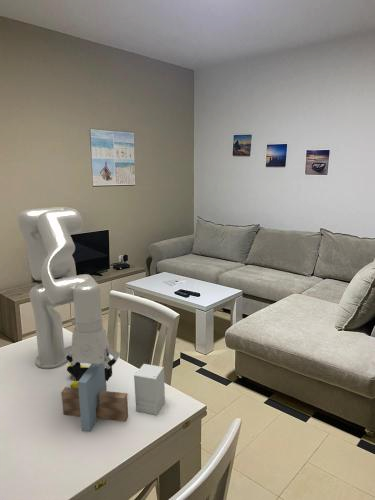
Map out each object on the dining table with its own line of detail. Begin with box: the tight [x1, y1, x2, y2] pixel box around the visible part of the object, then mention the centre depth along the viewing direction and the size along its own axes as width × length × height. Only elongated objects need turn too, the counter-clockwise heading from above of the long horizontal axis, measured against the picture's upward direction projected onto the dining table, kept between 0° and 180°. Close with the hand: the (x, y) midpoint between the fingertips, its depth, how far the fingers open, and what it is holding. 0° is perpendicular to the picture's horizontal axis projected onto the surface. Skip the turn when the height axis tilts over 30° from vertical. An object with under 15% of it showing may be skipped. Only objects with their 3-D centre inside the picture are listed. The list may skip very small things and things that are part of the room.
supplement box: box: [133, 363, 166, 416], centre depth 120 cm, size 7×7×13 cm
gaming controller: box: [66, 363, 90, 388], centre depth 133 cm, size 15×6×10 cm
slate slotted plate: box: [78, 364, 107, 433], centre depth 115 cm, size 14×2×16 cm, turn 171°
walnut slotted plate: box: [61, 386, 129, 422], centre depth 116 cm, size 20×2×8 cm, turn 81°
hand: (92, 376), depth 114 cm, fingers open, 9 cm apart
